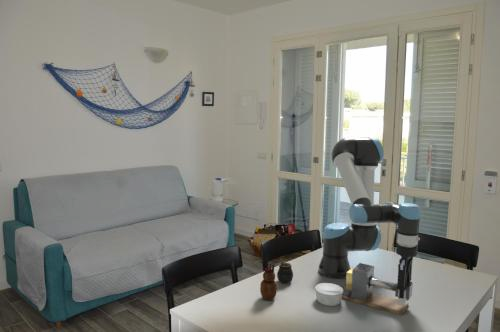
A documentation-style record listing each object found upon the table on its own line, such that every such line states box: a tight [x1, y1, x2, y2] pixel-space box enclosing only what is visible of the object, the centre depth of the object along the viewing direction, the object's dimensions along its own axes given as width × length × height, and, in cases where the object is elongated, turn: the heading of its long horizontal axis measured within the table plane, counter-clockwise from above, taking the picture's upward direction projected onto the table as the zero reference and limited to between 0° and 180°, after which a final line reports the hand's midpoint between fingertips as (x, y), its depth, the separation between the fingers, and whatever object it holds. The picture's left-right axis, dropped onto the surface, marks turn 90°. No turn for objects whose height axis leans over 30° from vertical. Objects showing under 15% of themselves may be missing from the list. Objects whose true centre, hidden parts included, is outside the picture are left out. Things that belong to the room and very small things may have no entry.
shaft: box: [368, 277, 414, 301], centre depth 157 cm, size 25×5×5 cm, turn 56°
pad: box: [342, 288, 352, 297], centre depth 164 cm, size 5×9×1 cm, turn 146°
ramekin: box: [314, 282, 343, 307], centre depth 158 cm, size 11×11×5 cm
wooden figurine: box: [259, 262, 278, 301], centre depth 159 cm, size 7×6×15 cm
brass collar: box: [345, 266, 355, 290], centre depth 163 cm, size 2×7×7 cm, turn 146°
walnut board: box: [341, 285, 409, 316], centre depth 159 cm, size 26×10×1 cm, turn 56°
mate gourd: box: [276, 257, 294, 285], centre depth 176 cm, size 7×8×10 cm
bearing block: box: [351, 262, 375, 301], centre depth 160 cm, size 6×9×12 cm, turn 146°
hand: (403, 302), depth 152 cm, fingers closed on shaft, 5 cm apart
